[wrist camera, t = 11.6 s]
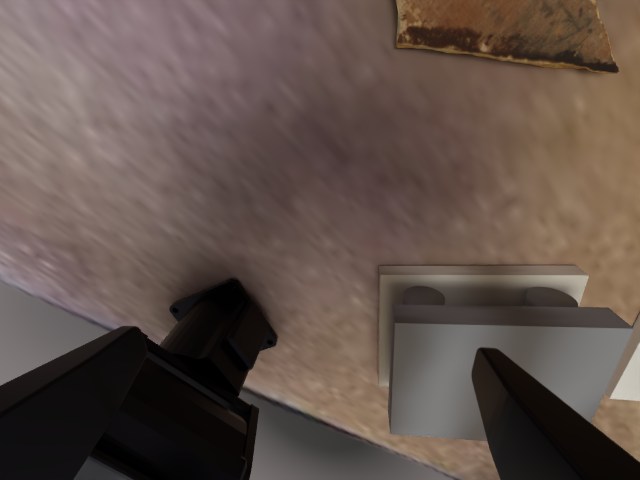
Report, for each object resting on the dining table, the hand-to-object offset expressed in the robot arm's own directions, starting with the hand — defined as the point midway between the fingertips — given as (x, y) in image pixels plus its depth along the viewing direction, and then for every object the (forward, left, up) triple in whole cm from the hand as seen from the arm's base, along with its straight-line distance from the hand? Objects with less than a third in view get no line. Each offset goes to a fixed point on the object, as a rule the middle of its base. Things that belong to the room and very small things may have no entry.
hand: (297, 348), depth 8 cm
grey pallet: (+5, -12, -12) cm, 18 cm away
